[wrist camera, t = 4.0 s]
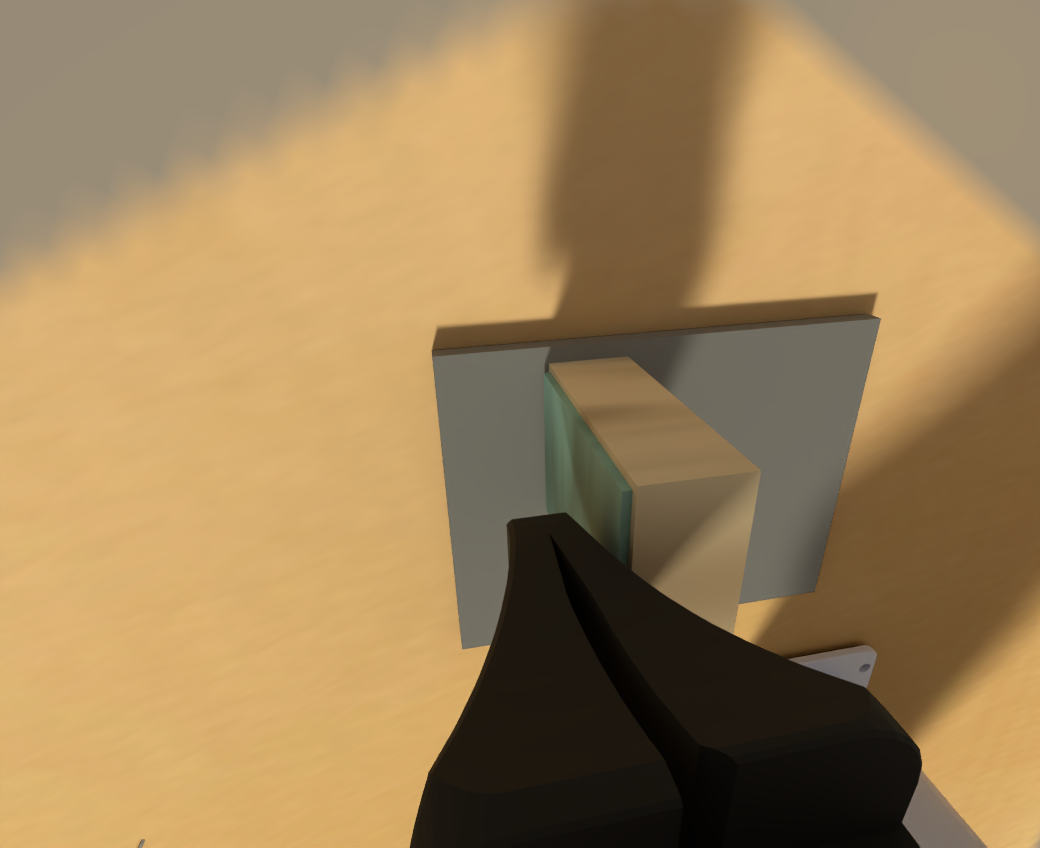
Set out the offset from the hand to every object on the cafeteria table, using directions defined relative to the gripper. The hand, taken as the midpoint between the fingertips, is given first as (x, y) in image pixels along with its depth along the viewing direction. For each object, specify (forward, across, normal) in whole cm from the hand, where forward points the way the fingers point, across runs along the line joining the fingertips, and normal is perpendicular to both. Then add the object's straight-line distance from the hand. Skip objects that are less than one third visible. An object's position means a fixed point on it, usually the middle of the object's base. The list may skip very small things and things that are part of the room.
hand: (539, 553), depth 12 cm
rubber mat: (+6, -5, +2) cm, 8 cm away
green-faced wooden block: (+5, -3, 0) cm, 6 cm away
